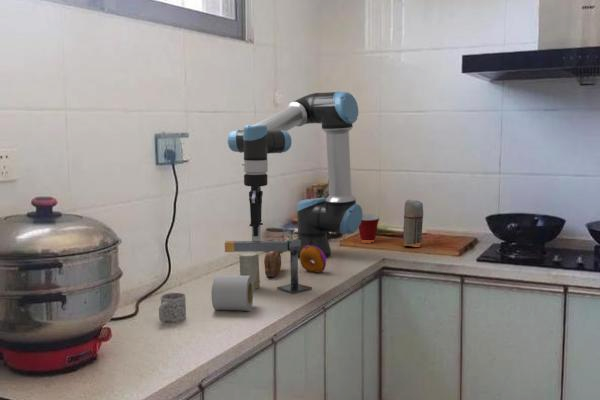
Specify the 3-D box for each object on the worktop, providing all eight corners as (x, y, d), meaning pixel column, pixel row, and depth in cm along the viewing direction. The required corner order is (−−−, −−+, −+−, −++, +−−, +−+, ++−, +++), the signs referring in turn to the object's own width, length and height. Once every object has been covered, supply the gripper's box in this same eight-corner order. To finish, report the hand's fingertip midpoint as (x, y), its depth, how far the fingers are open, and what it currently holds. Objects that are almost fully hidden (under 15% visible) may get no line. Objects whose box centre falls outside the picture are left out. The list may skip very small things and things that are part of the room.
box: (260, 287, 210) (259, 254, 209) (252, 290, 207) (251, 256, 205) (247, 285, 213) (247, 252, 212) (239, 287, 210) (238, 254, 208)
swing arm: (300, 248, 207) (300, 238, 207) (300, 251, 203) (300, 241, 203) (226, 249, 208) (226, 239, 207) (224, 252, 203) (224, 242, 203)
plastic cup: (352, 244, 280) (352, 217, 279) (358, 239, 290) (358, 213, 289) (377, 245, 277) (377, 218, 275) (382, 241, 287) (382, 214, 285)
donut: (317, 268, 235) (317, 241, 234) (328, 274, 227) (328, 246, 226) (297, 270, 232) (297, 243, 231) (307, 276, 224) (307, 248, 223)
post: (295, 284, 213) (295, 248, 211) (311, 289, 207) (311, 251, 205) (277, 289, 207) (276, 251, 206) (293, 294, 201) (292, 255, 200)
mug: (170, 314, 182) (169, 291, 181) (190, 317, 180) (189, 294, 179) (149, 325, 173) (148, 301, 172) (170, 327, 170) (170, 303, 169)
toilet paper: (212, 314, 182) (211, 279, 181) (221, 304, 192) (220, 271, 191) (246, 315, 181) (245, 280, 179) (253, 304, 191) (253, 272, 189)
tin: (272, 279, 220) (271, 255, 219) (263, 279, 221) (262, 255, 220) (282, 269, 235) (281, 247, 234) (273, 269, 235) (273, 246, 234)
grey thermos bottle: (411, 243, 280) (411, 198, 277) (426, 246, 273) (426, 200, 271) (398, 246, 274) (398, 200, 272) (413, 249, 268) (414, 202, 266)
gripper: (247, 171, 211) (247, 241, 214) (240, 175, 198) (241, 249, 201) (269, 171, 211) (270, 241, 214) (264, 175, 198) (265, 250, 201)
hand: (256, 245), depth 208 cm, fingers closed
